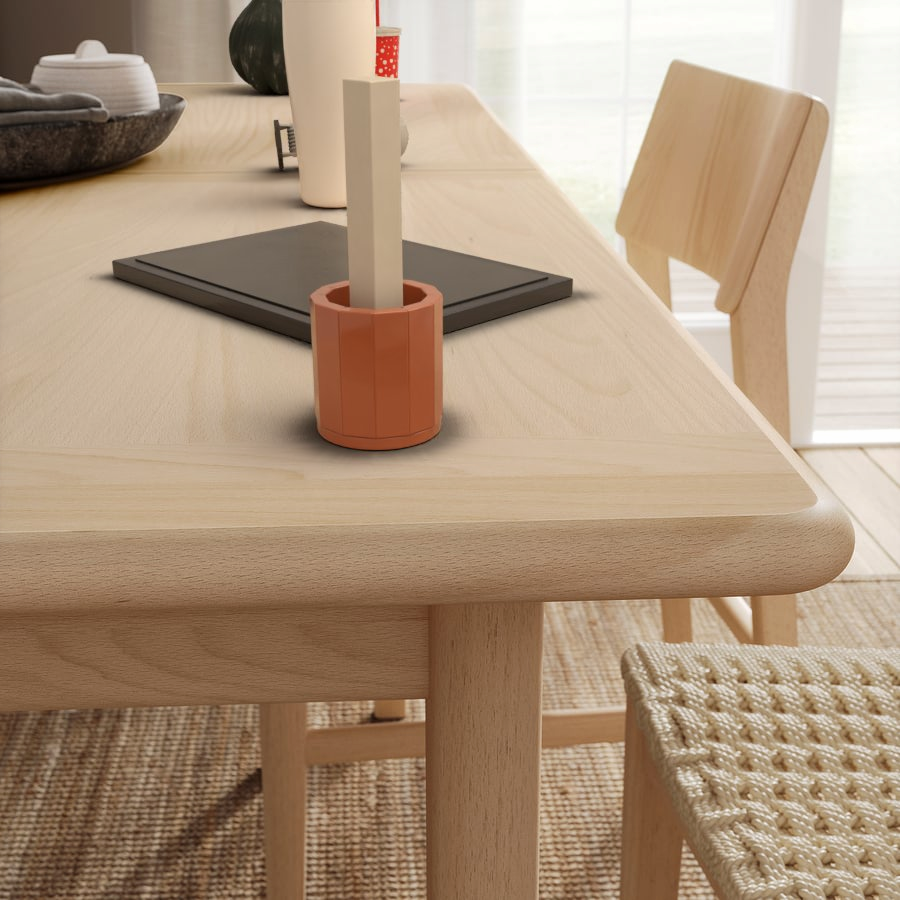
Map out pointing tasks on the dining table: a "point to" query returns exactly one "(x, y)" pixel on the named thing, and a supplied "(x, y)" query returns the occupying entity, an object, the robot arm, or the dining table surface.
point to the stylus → (373, 191)
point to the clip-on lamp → (292, 142)
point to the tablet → (328, 277)
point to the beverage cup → (386, 48)
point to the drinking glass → (324, 86)
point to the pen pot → (377, 368)
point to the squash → (260, 46)
